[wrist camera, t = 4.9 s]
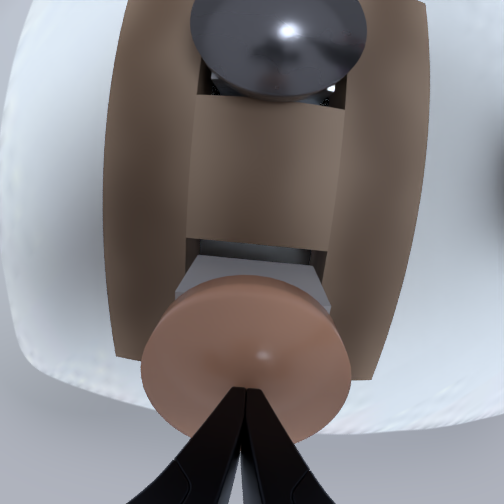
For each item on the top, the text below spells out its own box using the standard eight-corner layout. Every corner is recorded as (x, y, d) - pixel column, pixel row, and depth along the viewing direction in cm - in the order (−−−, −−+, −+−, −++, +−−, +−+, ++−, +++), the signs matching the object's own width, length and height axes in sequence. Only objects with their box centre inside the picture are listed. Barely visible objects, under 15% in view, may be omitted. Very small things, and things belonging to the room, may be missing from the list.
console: (399, 25, 12) (425, 3, 9) (355, 345, 18) (371, 379, 15) (156, 0, 12) (136, -27, 9) (136, 324, 18) (115, 356, 15)
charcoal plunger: (337, 18, 12) (365, -28, 7) (331, 123, 14) (364, 108, 9) (219, 5, 12) (203, -46, 7) (205, 110, 14) (179, 89, 9)
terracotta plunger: (334, 249, 12) (376, 306, 8) (308, 371, 14) (323, 453, 9) (179, 234, 12) (131, 283, 8) (180, 359, 14) (152, 437, 9)
